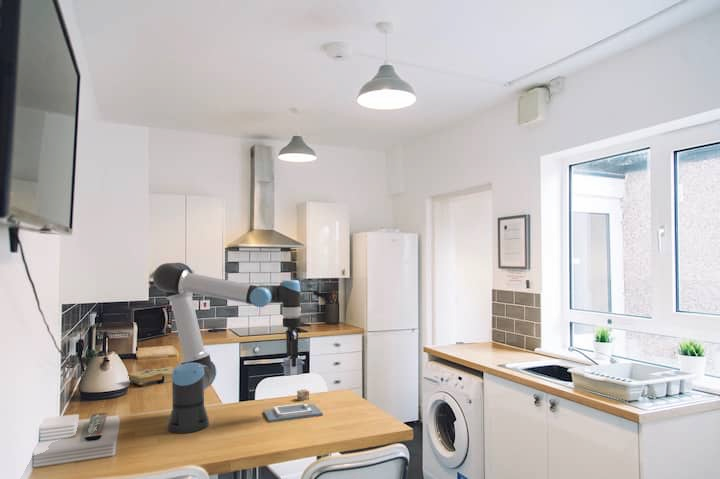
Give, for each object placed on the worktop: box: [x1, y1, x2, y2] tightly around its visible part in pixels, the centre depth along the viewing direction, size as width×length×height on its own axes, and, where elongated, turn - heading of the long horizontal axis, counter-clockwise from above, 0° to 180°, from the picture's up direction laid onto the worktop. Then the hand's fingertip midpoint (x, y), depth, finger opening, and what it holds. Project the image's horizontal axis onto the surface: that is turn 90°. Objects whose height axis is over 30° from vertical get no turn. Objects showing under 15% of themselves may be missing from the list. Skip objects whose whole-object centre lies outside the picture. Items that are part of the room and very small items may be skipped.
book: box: [127, 365, 176, 388], centre depth 266 cm, size 25×17×6 cm
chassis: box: [262, 402, 324, 423], centre depth 206 cm, size 22×14×2 cm, turn 110°
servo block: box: [280, 355, 306, 377], centre depth 207 cm, size 9×4×7 cm, turn 110°
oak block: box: [296, 389, 310, 402], centre depth 227 cm, size 4×4×4 cm
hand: (292, 373), depth 206 cm, fingers closed on servo block, 4 cm apart
